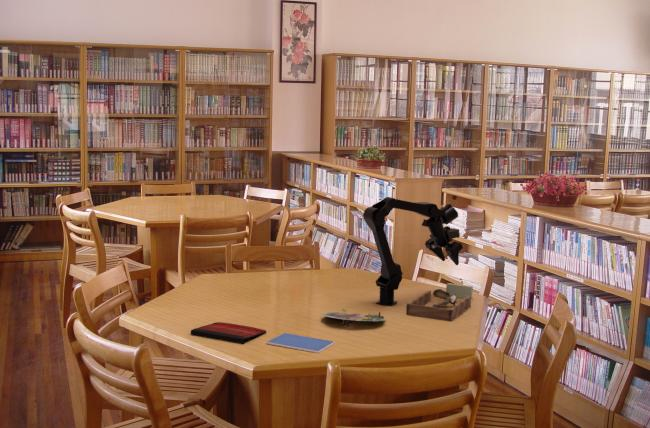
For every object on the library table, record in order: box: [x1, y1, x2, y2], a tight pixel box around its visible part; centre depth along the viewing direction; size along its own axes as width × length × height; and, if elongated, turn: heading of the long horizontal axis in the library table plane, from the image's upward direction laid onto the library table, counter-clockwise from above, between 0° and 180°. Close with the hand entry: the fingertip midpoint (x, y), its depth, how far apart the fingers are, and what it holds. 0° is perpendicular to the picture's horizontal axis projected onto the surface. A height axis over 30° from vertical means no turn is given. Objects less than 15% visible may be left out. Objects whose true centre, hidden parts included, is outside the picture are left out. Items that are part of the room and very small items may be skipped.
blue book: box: [266, 332, 336, 354], centre depth 253 cm, size 19×13×1 cm, turn 64°
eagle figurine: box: [432, 288, 457, 308], centre depth 306 cm, size 8×7×9 cm
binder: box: [190, 321, 267, 345], centre depth 263 cm, size 16×2×21 cm
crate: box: [405, 290, 472, 322], centre depth 299 cm, size 25×17×4 cm
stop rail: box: [445, 282, 474, 300], centre depth 321 cm, size 2×10×5 cm, turn 64°
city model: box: [321, 309, 386, 328], centre depth 282 cm, size 25×23×6 cm
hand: (450, 262), depth 320 cm, fingers open, 9 cm apart
